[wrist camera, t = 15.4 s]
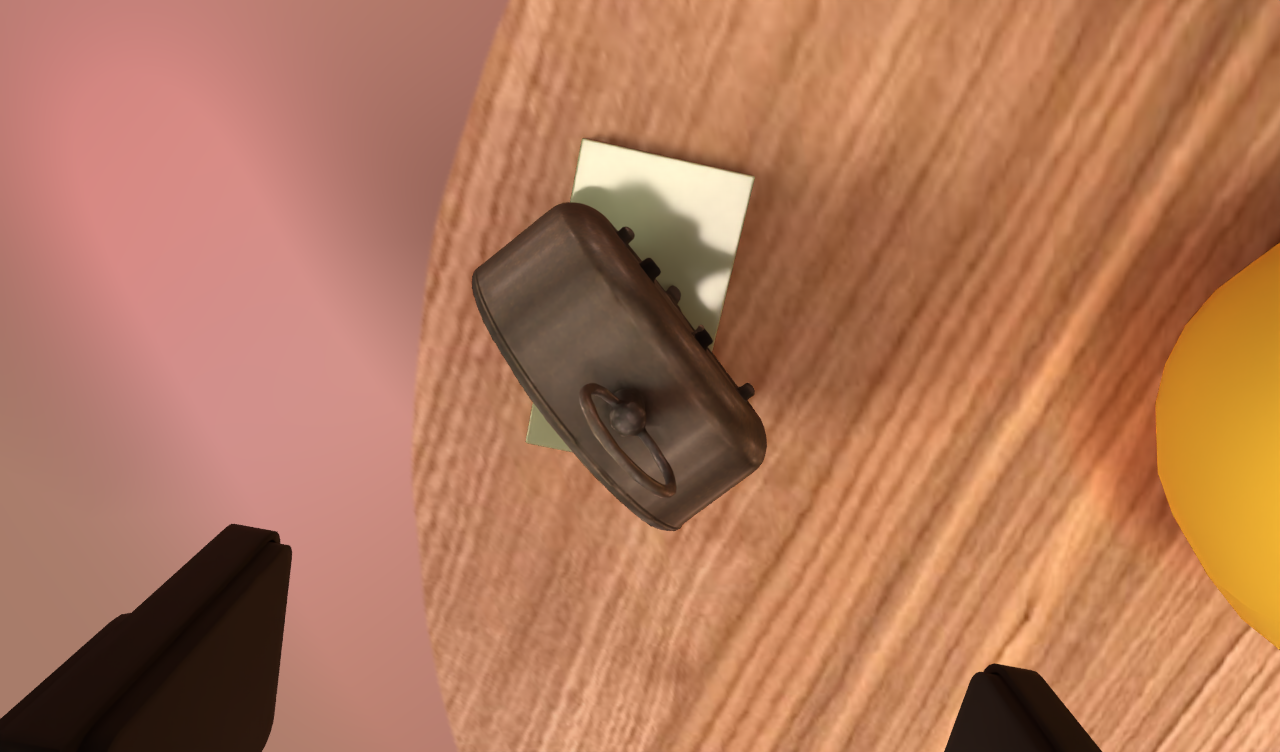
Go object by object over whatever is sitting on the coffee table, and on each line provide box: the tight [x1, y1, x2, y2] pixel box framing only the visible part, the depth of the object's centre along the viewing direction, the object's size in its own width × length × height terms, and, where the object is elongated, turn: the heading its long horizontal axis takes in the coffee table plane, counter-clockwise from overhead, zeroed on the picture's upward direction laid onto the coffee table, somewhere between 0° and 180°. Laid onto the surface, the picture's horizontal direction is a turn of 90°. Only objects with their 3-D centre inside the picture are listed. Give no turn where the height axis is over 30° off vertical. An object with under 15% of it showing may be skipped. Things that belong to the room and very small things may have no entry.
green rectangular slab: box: [526, 138, 755, 452], centre depth 33 cm, size 13×7×1 cm, turn 168°
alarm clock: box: [472, 202, 767, 531], centre depth 25 cm, size 11×5×16 cm, turn 38°
